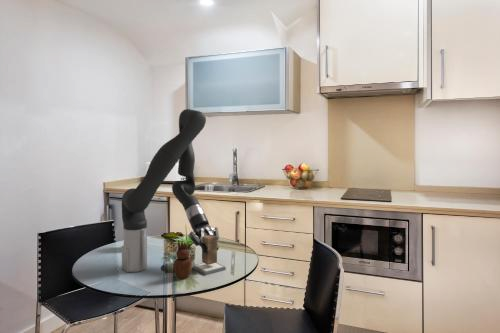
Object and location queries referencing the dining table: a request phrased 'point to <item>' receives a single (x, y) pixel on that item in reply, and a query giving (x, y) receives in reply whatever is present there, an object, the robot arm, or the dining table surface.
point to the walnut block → (210, 249)
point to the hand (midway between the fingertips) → (212, 251)
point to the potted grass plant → (182, 262)
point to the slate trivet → (209, 268)
